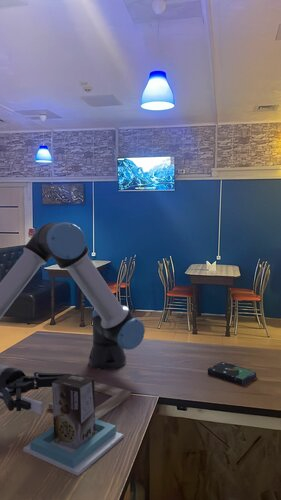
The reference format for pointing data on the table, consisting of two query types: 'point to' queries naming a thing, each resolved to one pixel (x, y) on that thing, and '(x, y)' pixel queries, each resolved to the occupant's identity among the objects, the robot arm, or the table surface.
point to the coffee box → (73, 410)
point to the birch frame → (111, 403)
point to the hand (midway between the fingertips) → (61, 397)
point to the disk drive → (232, 373)
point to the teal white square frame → (75, 458)
